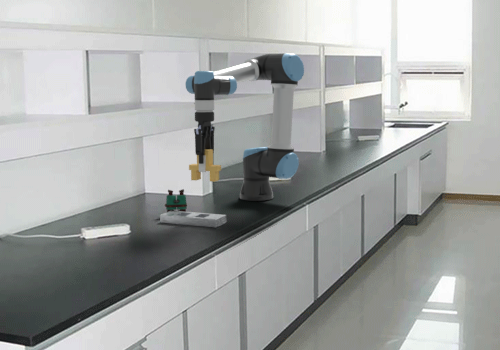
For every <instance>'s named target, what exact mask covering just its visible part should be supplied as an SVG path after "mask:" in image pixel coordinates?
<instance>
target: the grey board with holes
mask: <svg viewBox="0 0 500 350" xmlns="http://www.w3.org/2000/svg"><path fill="white" fill-rule="evenodd" d="M159 220H160V221H159V223H161V224H173V225H182V226H183V225H185V226H193V227H194V226H196V227H204V228H205V227H206V228H218V227H220V226H222V225H225V224H226V223H227V214H221V213H220V214H219V213H207V212H195V211H194V212H193V211H186V212H184V211H178V210H175V211H172V210H171V211H169V212H167V211H166V212H164V213H161V214H160V215H159Z"/></svg>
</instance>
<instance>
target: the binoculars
mask: <svg viewBox="0 0 500 350" xmlns="http://www.w3.org/2000/svg"><path fill="white" fill-rule="evenodd" d="M178 192H179V194H177V195H176V194H174V190H171V189H167V193H168V195H167V194H166V201H165V204H164V206H165V209H166V212H169V211H171V210H172V211H184V212H187V207H188V204H187V196H186V194H184V192H185V189H184V188H183V189H180V190H178Z"/></svg>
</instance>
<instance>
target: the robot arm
mask: <svg viewBox="0 0 500 350" xmlns="http://www.w3.org/2000/svg"><path fill="white" fill-rule="evenodd" d="M304 66H305V65H304V62H303V59H301V57H300V56H299V55H298V54H296V53H289V52H286V53H285V52H284V53H265V54H262V55H259V56H255V57H253V58H249V59H247V60H244V62H243V63H239V64H237V65H233V66H230V67H225V68H222V69H217V70H214V71H213V70H197V71H195V73H194V75H190V76H188V77H187V78H186V80H185V89H186V91H187V92H188V93H189V94H192V95H193V94H194V102H193V104H194V111H195V112H194V121H195V122H197V123H198V124H197V128H194V129H193V132H194V133H193V134H194V146H195V147H194V148H195V152H194V153H195V156H197V155H199V172H201V173H206V172H207V171H206V155H205V149H212V150H213V154H214V151H215V129H216V128H215V126H212V122H214V121H215V112H214V111H215V96H229V95H233V94H235V93H236V92H237V88H238V84H240V83H244V82H246V81H247V82H248V81H249V82H255V81H270V85H271V87H272V88H273V101H272V102H273V103H272V104H273V105H272V118H271V119H272V120H271V121H272V122H271V123H272V124H271V137H270V138H271V139H270V141H271V142H270V144H269V145H268V146H260V147H251V148H245V149H244V151H243V155H242V170H243V176H242V177H243V182H242V185H241V189H240V192H239V199H240V200H243V201H248V202H249V201H250V202H257V201H258V202H261V201H269V200H272V199H274V192H273V189H272V186H271V183H270V178H274V179H279V180H280V179H281V180H288V179H291V178H292V177H294V175H295V174H296V173H297V172H298V169H299V165H300V163H299V162H300V161H299V157H298V154H296V153H295V148H294V147H293V146H292V130H293V129H292V128H293V109H294V91H295V89H296V88H297V86H298V83H299V82H300V81H301V80H302V79H303V77H304V76H305V75H304V73H305V67H304Z"/></svg>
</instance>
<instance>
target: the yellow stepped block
mask: <svg viewBox="0 0 500 350" xmlns="http://www.w3.org/2000/svg"><path fill="white" fill-rule="evenodd" d="M213 152H214V151H213V150H212V149H205V155H206V172H209V182H211V183H212V182H214V183H216V182H218V181H220V172H221V171H222V165H220V164H214V153H213ZM188 170H189V171H190V177H191V178H190V179H191V180H190V181H200V180H201V179H202V172H199V155H196V163H191V164H188Z"/></svg>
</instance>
